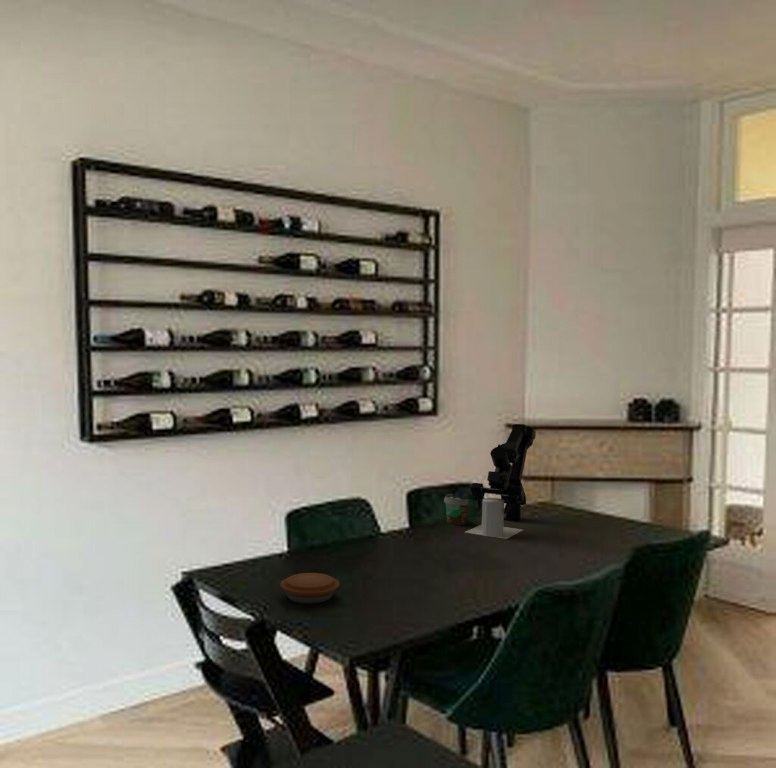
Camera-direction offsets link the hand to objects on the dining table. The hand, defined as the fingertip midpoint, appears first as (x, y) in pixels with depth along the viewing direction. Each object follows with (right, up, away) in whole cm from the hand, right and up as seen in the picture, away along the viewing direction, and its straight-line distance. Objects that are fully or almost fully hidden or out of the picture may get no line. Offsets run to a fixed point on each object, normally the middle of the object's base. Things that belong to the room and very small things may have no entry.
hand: (491, 511), depth 272 cm
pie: (-57, -11, -69) cm, 90 cm away
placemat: (+2, -8, +6) cm, 10 cm away
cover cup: (0, -8, +2) cm, 8 cm away
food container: (-12, -8, +17) cm, 23 cm away
